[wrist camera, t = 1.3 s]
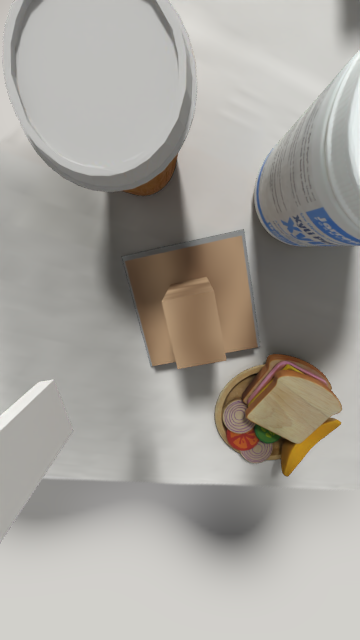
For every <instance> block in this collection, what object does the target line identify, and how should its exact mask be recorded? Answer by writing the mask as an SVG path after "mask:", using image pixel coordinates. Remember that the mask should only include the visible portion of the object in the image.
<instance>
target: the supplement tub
mask: <svg viewBox="0 0 360 640" xmlns="http://www.w3.org/2000/svg"><path fill="white" fill-rule="evenodd" d="M254 202H255V208H256V212H257V215H258V217H259V220H260V222H261V223H262V225H263V227H264V228H265V229H266V230H267V232H268V233H269V234H270V235H272V236H273V237H274V238H276V239H277V240H279V241H281V242H283V243H286V244H289V245H293V246H360V50H359V51H358V52H357V53H356V54H355V56H354V57H353V58H352V59H351V60H350V61H349V62H348V63H347V64H346V65H345V67H344V68H343V69H342V70H341V71H340V72H339V74H338V75H337V76H336V77H335V78H334V79H333V80H332V82H331V83H330V84H329V85H328V86H327V87H326V89H325V90H324V91H323V92H322V93H321V94H320V95H319V97H318V98H317V99H316V100H315V101H314V102H313V103H312V105H311V106H310V107H309V108H308V109H307V110H306V111H305V113H304V114H303V115H302V116H301V117H300V118H299V119H298V120H297V122H296V123H295V124H294V125H293V126H292V127H291V129H290V130H289V131H288V132H287V133H286V134H285V135H284V136H283V138H282V139H281V140H280V141H279V142H278V143H277V144H276V145H275V147H274V148H273V149H272V150H271V152H270V153H269V154H268V155H267V157H266V158H265V160H264V162H263V164H262V165H261V168H260V170H259V172H258V175H257V178H256V183H255V190H254Z"/></svg>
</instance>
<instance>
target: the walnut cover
mask: <svg viewBox="0 0 360 640" xmlns="http://www.w3.org/2000/svg"><path fill="white" fill-rule="evenodd" d="M125 264H126V268H127V272H128V275H129V279H130V283H131V287H132V290H133V294H134V298H135V302H136V306H137V309H138V313H139V317H140V321H141V325H142V328H143V332H144V336H145V340H146V344H147V347H148V351H149V355H150V359H151V363H152V366H156V365H162V364H167V363H173V362H176V364H177V369H181V368H186V367H192V366H198V365H203V364H209V363H215V362H220V361H226V355H225V353H228V352H234V351H240V350H245V349H251V348H256V347H258V346H257V339H256V332H255V325H254V318H253V311H252V304H251V297H250V290H249V283H248V276H247V269H246V262H245V255H244V248H243V241H242V235H241V236H237V237H232V238H227V239H223V240H218V241H214V242H209V243H205V244H200V245H196V246H191V247H187V248H182V249H178V250H173V251H169V252H164V253H160V254H155V255H151V256H146V257H142V258H137V259H133V260H128V261H125Z"/></svg>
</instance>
